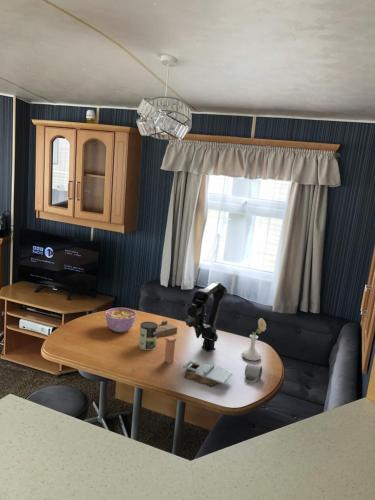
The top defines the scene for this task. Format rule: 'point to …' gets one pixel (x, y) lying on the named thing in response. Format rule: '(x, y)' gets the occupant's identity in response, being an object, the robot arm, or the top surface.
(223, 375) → the lid
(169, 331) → the wooden block set
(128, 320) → the bowl of food
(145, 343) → the coffee can
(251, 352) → the flower in vase
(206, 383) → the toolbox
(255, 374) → the ceramic mug
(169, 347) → the salmon brown tall block
